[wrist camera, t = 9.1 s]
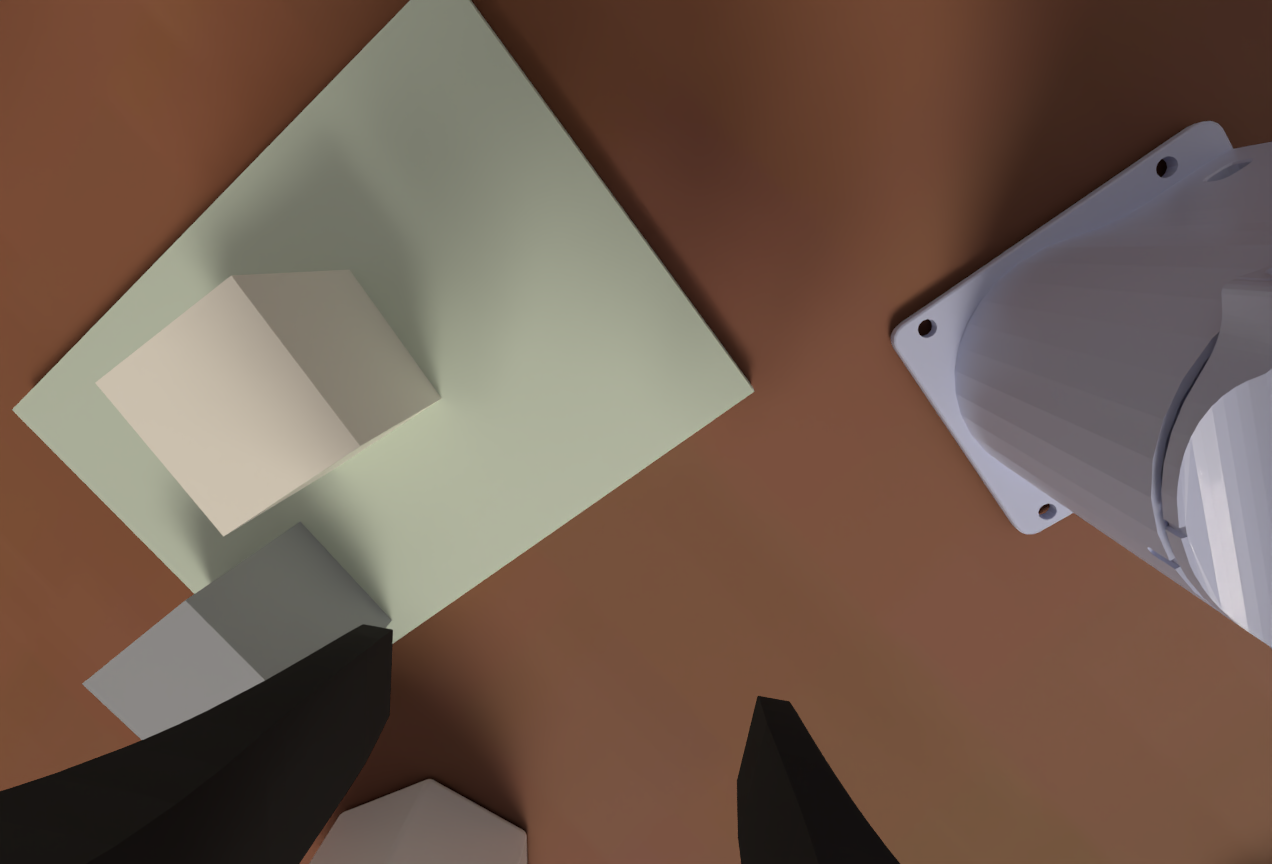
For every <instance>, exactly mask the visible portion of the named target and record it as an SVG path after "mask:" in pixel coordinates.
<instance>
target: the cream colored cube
mask: <svg viewBox="0 0 1272 864" xmlns="http://www.w3.org/2000/svg"><path fill="white" fill-rule="evenodd" d="M95 383H96V385H97V386H98V387H99V388H100V389H101V391H102V392H103V393H104V394H105V395H106V397H107V398H108V399H109V400H110V401H111V403H112V404H113V405H114V406H115V407H116V408H117V410H118V411H119V412H120V413H121V414H122V416H123V417H124V418H125V419H126V420H127V422H128V423H129V424H130V425H131V426H132V428H133V429H134V430H135V431H136V432H137V434H138V435H139V436H140V437H141V438H142V440H143V441H144V442H145V443H146V444H147V446H148V447H149V448H150V449H151V450H152V452H153V453H154V454H155V455H156V456H157V458H158V459H159V460H160V461H161V462H162V464H163V465H164V466H165V467H166V468H167V470H168V471H169V472H170V473H171V474H172V476H173V477H174V478H175V479H176V480H177V482H178V483H179V484H180V485H181V486H182V487H183V489H184V490H185V491H186V492H187V493H188V495H189V496H190V497H191V498H192V499H193V501H194V502H195V503H196V504H197V505H198V507H199V508H200V509H201V510H202V511H203V513H204V514H205V515H206V516H207V517H208V519H209V520H210V521H211V522H212V523H213V525H214V526H215V527H216V528H217V529H218V531H219V532H220V533H221V534H222V535H223V537H224V536H225V535H227V534H229V533H230V532H232V531H234V530H235V529H237V528H238V527H240V526H242V525H243V524H245V523H247V522H248V521H250V520H252V519H253V518H255V517H257V516H258V515H260V514H262V513H263V512H265V511H266V510H268V509H270V508H271V507H273V506H275V505H276V504H278V503H280V502H281V501H283V500H285V499H286V498H288V497H289V496H291V495H293V494H294V493H296V492H298V491H299V490H301V489H303V488H304V487H306V486H308V485H309V484H311V483H313V482H314V481H316V480H317V479H319V478H321V477H322V476H324V475H326V474H327V473H329V472H331V471H332V470H334V469H335V468H337V467H338V466H340V465H341V464H343V463H344V462H346V461H347V460H349V459H351V458H352V457H354V456H355V455H357V454H358V453H360V452H361V451H363V450H364V449H366V448H367V447H369V446H370V445H372V444H373V443H375V442H376V441H378V440H379V439H381V438H382V437H384V436H385V435H387V434H388V433H390V432H391V431H393V430H395V429H396V428H398V427H399V426H401V425H402V424H404V423H405V422H407V421H408V420H410V419H411V418H413V417H414V416H416V415H417V414H419V413H420V412H422V411H423V410H425V409H426V408H428V407H429V406H431V405H432V404H434V403H435V402H437V401H438V400H440V399H442V398H441V397H440V396H439V394H438V393H437V391H436V390H435V389H434V387H433V386H432V384H431V383H430V382H429V380H428V379H427V377H426V376H425V375H424V373H423V372H422V370H421V369H420V368H419V366H418V365H417V363H416V362H415V361H414V359H413V358H412V356H411V355H410V354H409V352H408V351H407V349H406V348H405V347H404V345H403V344H402V342H401V341H400V340H399V338H398V337H397V335H396V334H395V333H394V331H393V330H392V328H391V327H390V326H389V324H388V323H387V321H386V320H385V319H384V317H383V316H382V314H381V313H380V312H379V310H378V309H377V307H376V306H375V305H374V303H373V302H372V300H371V299H370V298H369V296H368V295H367V293H366V292H365V291H364V289H363V288H362V286H361V285H360V284H359V282H358V281H357V279H356V278H355V277H354V275H353V274H352V272H351V271H350V270H331V271H310V272H290V273H270V274H250V275H231V276H230V277H229V278H227V279H226V280H225V281H223V282H222V283H221V284H220V285H218V286H217V287H216V288H215V289H213V290H212V291H211V292H209V293H208V294H207V295H206V296H204V297H203V298H202V299H201V300H199V301H198V302H197V303H196V304H194V305H193V306H192V307H190V308H189V309H188V310H187V311H185V312H184V313H183V314H182V315H180V316H179V317H178V318H177V319H175V320H174V321H173V322H171V323H170V324H169V325H168V326H166V327H165V328H164V329H163V330H161V331H160V332H159V333H158V334H156V335H155V336H154V337H152V338H151V339H150V340H149V341H147V342H146V343H145V344H144V345H142V346H141V347H140V348H138V349H137V350H136V351H135V352H133V353H132V354H131V355H130V356H128V357H127V358H126V359H125V360H123V361H122V362H121V363H119V364H118V365H117V366H116V367H114V368H113V369H112V370H111V371H109V372H108V373H107V374H106V375H104V376H103V377H102V378H100V379H99V380H98V381H97V382H95Z"/></svg>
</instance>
